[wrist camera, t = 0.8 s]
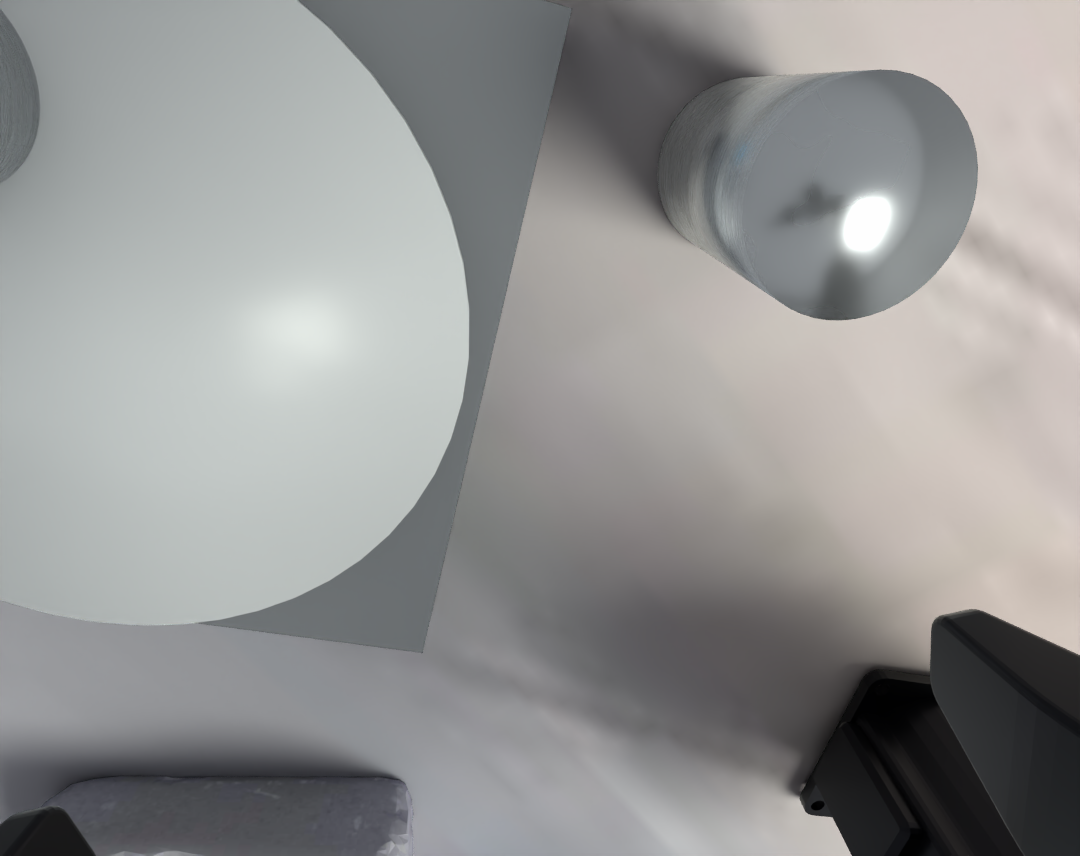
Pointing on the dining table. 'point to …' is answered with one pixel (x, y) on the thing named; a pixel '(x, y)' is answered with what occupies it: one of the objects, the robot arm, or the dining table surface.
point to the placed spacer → (16, 101)
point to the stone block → (241, 816)
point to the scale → (257, 302)
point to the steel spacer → (823, 185)
